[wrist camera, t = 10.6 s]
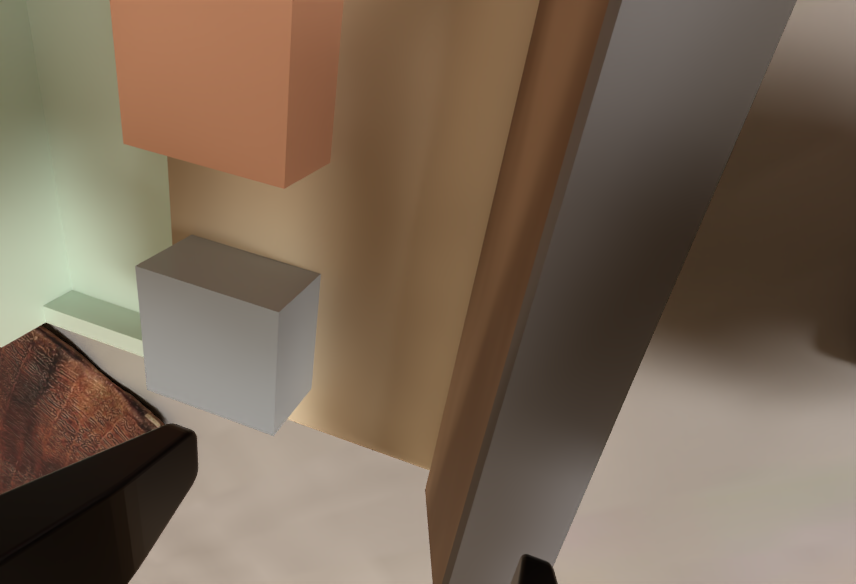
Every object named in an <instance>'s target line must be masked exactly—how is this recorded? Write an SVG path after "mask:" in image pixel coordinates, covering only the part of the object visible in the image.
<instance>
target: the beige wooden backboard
mask: <svg viewBox="0 0 856 584" xmlns="http://www.w3.org/2000/svg"><path fill="white" fill-rule="evenodd" d="M539 1H540V0H344V2H343V14H342V26H341V38H340V50H339V62H338V75H337V87H336V99H335V111H334V123H333V135H332V147H331V159H330V163H329V164H327V165H325V166H324V167H322V168H320V169H318V170H317V171H315V172H313V173H311V174H310V175H308V176H306V177H304V178H303V179H301V180H299V181H297V182H296V183H294V184H292V185H290V186H289V187H287V188H285V189H283V188H279V187H276V186H272V185H268V184H265V183H261V182H258V181H254V180H251V179H247V178H244V177H240V176H236V175H233V174H229V173H226V172H222V171H219V170H215V169H211V168H208V167H204V166H201V165H197V164H194V163H190V162H186V161H183V160H179V159H176V158H172V157H169V156H167V162H168V179H169V196H170V213H171V230H172V245H174V244H176V243H177V242H179V241H181V240H183V239H185V238H186V237H188V236H190V235H195V236H198V237H202V238H205V239H208V240H211V241H215V242H218V243H221V244H225V245H228V246H231V247H234V248H238V249H241V250H244V251H247V252H251V253H254V254H257V255H261V256H264V257H267V258H270V259H274V260H277V261H280V262H283V263H287V264H290V265H293V266H297V267H300V268H303V269H306V270H310V271H313V272H316V273H319V274H321V280H320V292H319V304H318V316H317V328H316V340H315V352H314V364H313V376H312V388H311V390H310V391H309V392H308V394H307V395H306V396H305V397H304V399H303V400H302V401H301V402H300V404H299V405H298V406H297V407H296V409H295V410H294V411H293V412H292V414H291V415H290V416H289V417H288V420H291V421H294V422H296V423H299V424H302V425H305V426H307V427H310V428H313V429H316V430H319V431H321V432H324V433H327V434H330V435H333V436H335V437H338V438H341V439H344V440H347V441H349V442H352V443H355V444H358V445H360V446H363V447H366V448H369V449H372V450H374V451H377V452H380V453H383V454H386V455H388V456H391V457H394V458H397V459H399V460H402V461H405V462H408V463H411V464H413V465H416V466H419V467H422V468H425V469H427V470H430V468H431V463H432V459H433V455H434V451H435V446H436V442H437V438H438V433H439V429H440V425H441V421H442V416H443V412H444V408H445V404H446V399H447V395H448V391H449V386H450V382H451V378H452V374H453V369H454V365H455V361H456V356H457V352H458V348H459V344H460V339H461V335H462V331H463V327H464V322H465V318H466V314H467V309H468V305H469V301H470V297H471V292H472V288H473V284H474V279H475V275H476V271H477V267H478V262H479V258H480V254H481V249H482V245H483V241H484V237H485V232H486V228H487V224H488V220H489V215H490V211H491V207H492V202H493V198H494V194H495V190H496V185H497V181H498V177H499V172H500V168H501V164H502V160H503V155H504V151H505V147H506V142H507V138H508V134H509V130H510V125H511V121H512V117H513V113H514V108H515V104H516V100H517V95H518V91H519V87H520V83H521V78H522V74H523V70H524V65H525V61H526V57H527V53H528V48H529V44H530V40H531V35H532V31H533V27H534V23H535V18H536V14H537V10H538V6H539Z"/></svg>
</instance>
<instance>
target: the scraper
mask: <svg viewBox="0 0 856 584" xmlns="http://www.w3.org/2000/svg"><path fill="white" fill-rule="evenodd" d="M796 1H797V0H540V1H539V6H538V10H537V14H536V18H535V23H534V27H533V31H532V35H531V40H530V44H529V48H528V53H527V57H526V61H525V65H524V70H523V74H522V78H521V83H520V87H519V91H518V95H517V100H516V104H515V108H514V113H513V117H512V121H511V125H510V130H509V134H508V138H507V142H506V147H505V151H504V155H503V160H502V164H501V168H500V172H499V177H498V181H497V185H496V190H495V194H494V198H493V202H492V207H491V211H490V215H489V220H488V224H487V228H486V232H485V237H484V241H483V245H482V249H481V254H480V258H479V262H478V267H477V271H476V275H475V279H474V284H473V288H472V292H471V297H470V301H469V305H468V309H467V314H466V318H465V322H464V327H463V331H462V335H461V339H460V344H459V348H458V352H457V356H456V361H455V365H454V369H453V374H452V378H451V382H450V386H449V391H448V395H447V399H446V404H445V408H444V412H443V416H442V421H441V425H440V429H439V433H438V438H437V442H436V446H435V451H434V455H433V459H432V463H431V468H430V472H429V476H428V481H427V485H426V489H425V492H426V505H427V517H428V530H429V542H430V554H431V567H432V579H433V584H511V581H512V578H513V576H514V573H515V570H516V568H517V565H518V563H519V560H520V558H521V556H522V555H523V554H529V555H531V556H534V557H537V558H540V559H542V560H545V561H547V562H549V563H550V564H551V565H552V567H553V565H554V563H555V561H556V558H557V556H558V554H559V551H560V549H561V547H562V544H563V542H564V540H565V537H566V535H567V533H568V531H569V528H570V526H571V524H572V521H573V519H574V517H575V514H576V512H577V510H578V507H579V505H580V503H581V500H582V498H583V496H584V493H585V491H586V489H587V486H588V484H589V482H590V479H591V477H592V475H593V472H594V470H595V468H596V465H597V463H598V461H599V458H600V456H601V454H602V452H603V449H604V447H605V445H606V442H607V440H608V438H609V435H610V433H611V431H612V428H613V426H614V424H615V421H616V419H617V417H618V414H619V412H620V410H621V407H622V405H623V403H624V400H625V398H626V396H627V393H628V391H629V389H630V386H631V384H632V382H633V380H634V377H635V375H636V373H637V370H638V368H639V366H640V363H641V361H642V359H643V356H644V354H645V352H646V349H647V347H648V345H649V342H650V340H651V338H652V335H653V333H654V331H655V328H656V326H657V324H658V321H659V319H660V317H661V314H662V312H663V310H664V307H665V305H666V303H667V301H668V298H669V296H670V294H671V291H672V289H673V287H674V284H675V282H676V280H677V277H678V275H679V273H680V270H681V268H682V266H683V263H684V261H685V259H686V256H687V254H688V252H689V249H690V247H691V245H692V242H693V240H694V238H695V235H696V233H697V231H698V228H699V226H700V224H701V222H702V219H703V217H704V215H705V212H706V210H707V208H708V205H709V203H710V201H711V198H712V196H713V194H714V191H715V189H716V187H717V184H718V182H719V180H720V177H721V175H722V173H723V170H724V168H725V166H726V163H727V161H728V159H729V156H730V154H731V152H732V150H733V147H734V145H735V143H736V140H737V138H738V136H739V133H740V131H741V129H742V126H743V124H744V122H745V119H746V117H747V115H748V112H749V110H750V108H751V105H752V103H753V101H754V98H755V96H756V94H757V91H758V89H759V87H760V84H761V82H762V80H763V77H764V75H765V73H766V71H767V68H768V66H769V64H770V61H771V59H772V57H773V54H774V52H775V50H776V47H777V45H778V43H779V40H780V38H781V36H782V33H783V31H784V29H785V26H786V24H787V22H788V19H789V17H790V15H791V12H792V10H793V8H794V5H795V3H796Z"/></svg>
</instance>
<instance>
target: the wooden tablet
mask: <svg viewBox="0 0 856 584" xmlns="http://www.w3.org/2000/svg"><path fill="white" fill-rule="evenodd" d="M163 425H164V423H163V422H162V421H161V420H160V419H159V418H157V417H156V416H155V415H153V414H152V412H151V411H150V410H149V409H147V408H146V407H145V406H143V405H142V404H141V403H140V402H139V401H138V400H137V399H136V398H135V397H134V396H133V395H131V394H130V393H128V392H125V391H124V390H122V389H121V388H120V387H118V386H117V385H116V384H114V383H113V382H111V381H110V380H109V379H108V378H107V377H106V376H105V375H104V374H102V373H101V372H99V371H98V370H97V369H96V368H95V366H94V365H93V364H92V363H91V362H90V361H89V360H88V359H86V358H85V357H84V356H83V355H82V354H80V353H79V352H78V351H77V350H75V349H74V348H73V347H72V346H70V345H69V344H67V343H66V342H64V341H62V340H61V339H60V338H58V337H57V336H56V335H54V334H53V333H52V332H50V331H49V330H48V329H46V328H45V327H43V326H41V325H40V326H39V327H37V328H35V329H33V330H32V331H30V332H28V333H26V334H24V335H23V336H21V337H19V338H17V339H16V340H14V341H12V342H10V343H9V344H7V345H5V346H3V347H2V348H1V347H0V494H2V493H5V492H7V491H9V490H12V489H14V488H17V487H19V486H21V485H24V484H26V483H28V482H31V481H33V480H35V479H38V478H40V477H43V476H45V475H47V474H50V473H52V472H54V471H57V470H59V469H61V468H64V467H66V466H69V465H71V464H73V463H76V462H78V461H80V460H83V459H85V458H88V457H90V456H92V455H95V454H97V453H99V452H102V451H104V450H106V449H109V448H111V447H114V446H116V445H118V444H121V443H123V442H125V441H128V440H130V439H133V438H135V437H137V436H140V435H142V434H144V433H147V432H149V431H151V430H154V429H156V428H159V427H161V426H163Z"/></svg>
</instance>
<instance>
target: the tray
mask: <svg viewBox="0 0 856 584" xmlns="http://www.w3.org/2000/svg"><path fill="white" fill-rule="evenodd" d="M170 246H172V230H171V213H170V196H169V179H168V162H167V156H165V155H161V154H158V153H154V152H151V151H147V150H144V149H140V148H136V147H133V146H129V145H126V144H123V135H122V124H121V114H120V104H119V93H118V83H117V72H116V62H115V52H114V41H113V31H112V20H111V10H110V0H0V347H1V348H2V347H3V346H5V345H7V344H9V343H10V342H12V341H14V340H16V339H17V338H19V337H21V336H23V335H24V334H26V333H28V332H30V331H32V330H33V329H35V328H37V327H39V326H40V325H42V324H44V323H49V324H51V325H54V326H57V327H60V328H63V329H66V330H68V331H71V332H74V333H77V334H80V335H82V336H85V337H88V338H91V339H94V340H97V341H99V342H102V343H105V344H108V345H111V346H113V347H116V348H119V349H122V350H125V351H128V352H130V353H133V354H136V355H139V356H142V357H144V353H143V342H142V332H141V322H140V311H139V301H138V290H137V280H136V270H135V266H136V265H138V264H140V263H141V262H143V261H145V260H147V259H149V258H150V257H152V256H154V255H156V254H158V253H159V252H161V251H163V250H165V249H167V248H168V247H170Z"/></svg>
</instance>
